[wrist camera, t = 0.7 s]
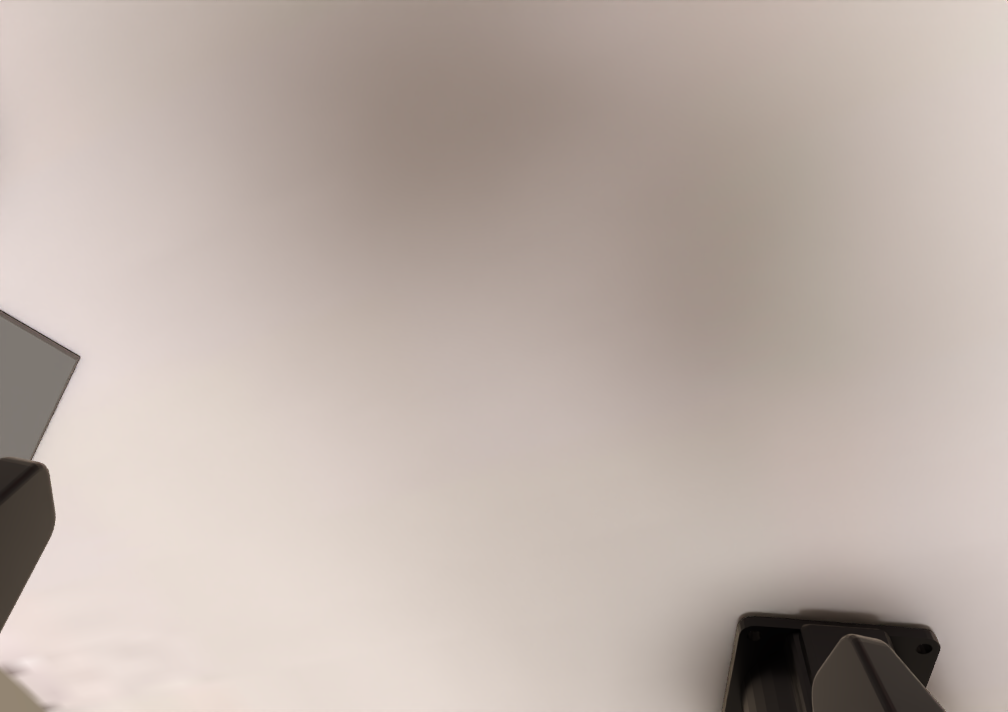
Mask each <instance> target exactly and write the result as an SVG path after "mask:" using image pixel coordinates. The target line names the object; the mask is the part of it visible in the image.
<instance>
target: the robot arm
mask: <svg viewBox="0 0 1008 712" xmlns="http://www.w3.org/2000/svg"><path fill="white" fill-rule="evenodd" d="M55 518H56V516H55V507H54V501H53V494H52V487H51V481H50V474H49V470H48V469H47V467H46V466H45V465H44V464H42V463H40V462H36V461H31V460H27V459H22V458H17V457H3V458H0V633H1V631H2V629H3V627H4V625H5V623H6V621H7V619H8V617H9V615H10V614H11V612H12V610H13V608H14V606H15V604H16V602H17V600H18V598H19V596H20V595H21V593H22V591H23V589H24V587H25V585H26V583H27V581H28V579H29V577H30V576H31V574H32V572H33V570H34V568H35V566H36V564H37V562H38V560H39V558H40V557H41V555H42V553H43V551H44V549H45V547H46V545H47V543H48V541H49V539H50V537H51V535H52V532H53V530H54V526H55ZM750 631H755V632H750ZM939 652H940V644H939V642H938V640H937V637H936V635H935V634H934V633H933V632H932V631H930V630H926V629H917V628H904V627H890V626H876V625H863V624H849V623H836V622H822V621H809V620H795V619H782V618H768V617H755V616H754V617H747V618H744V619H742V620H741V621H740V622H739V624H738V626H737V631H736V637H735V642H734V648H733V653H732V658H731V664H730V669H729V675H728V680H727V685H726V691H725V696H724V702H723V707H722V712H946V711H945V710H944V709H943V708H942V707H941V706H940V704H939V703H938V702H937V701H936V700H935V699H934V697H933V696H932V695H931V694H930V693H929V692H928V690H927V689H926V686H927V683H928V681H929V678H930V675H931V673H932V670H933V668H934V665H935V662H936V660H937V657H938V654H939Z"/></svg>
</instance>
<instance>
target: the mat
mask: <svg viewBox="0 0 1008 712" xmlns="http://www.w3.org/2000/svg"><path fill="white" fill-rule="evenodd" d="M79 359H80V357H79V356H77V355H75V354H74V353H72V352H70V351H68V350H67V349H65V348H63V347H62V346H60V345H58V344H56V343H55V342H53V341H51V340H50V339H48V338H46V337H44V336H43V335H41V334H39V333H38V332H36V331H34V330H32V329H31V328H29V327H27V326H26V325H24V324H22V323H20V322H19V321H17V320H15V319H13V318H12V317H10V316H8V315H7V314H5V313H3V312H1V311H0V458H3V457H17V458H22V459H27V460H31V459H32V457H33V455H34V453H35V451H36V449H37V447H38V445H39V442H40V440H41V438H42V436H43V434H44V432H45V430H46V428H47V426H48V424H49V421H50V419H51V417H52V415H53V413H54V411H55V409H56V407H57V405H58V403H59V400H60V398H61V396H62V394H63V392H64V390H65V388H66V386H67V384H68V382H69V379H70V377H71V375H72V373H73V371H74V369H75V367H76V365H77V363H78V361H79Z"/></svg>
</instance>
